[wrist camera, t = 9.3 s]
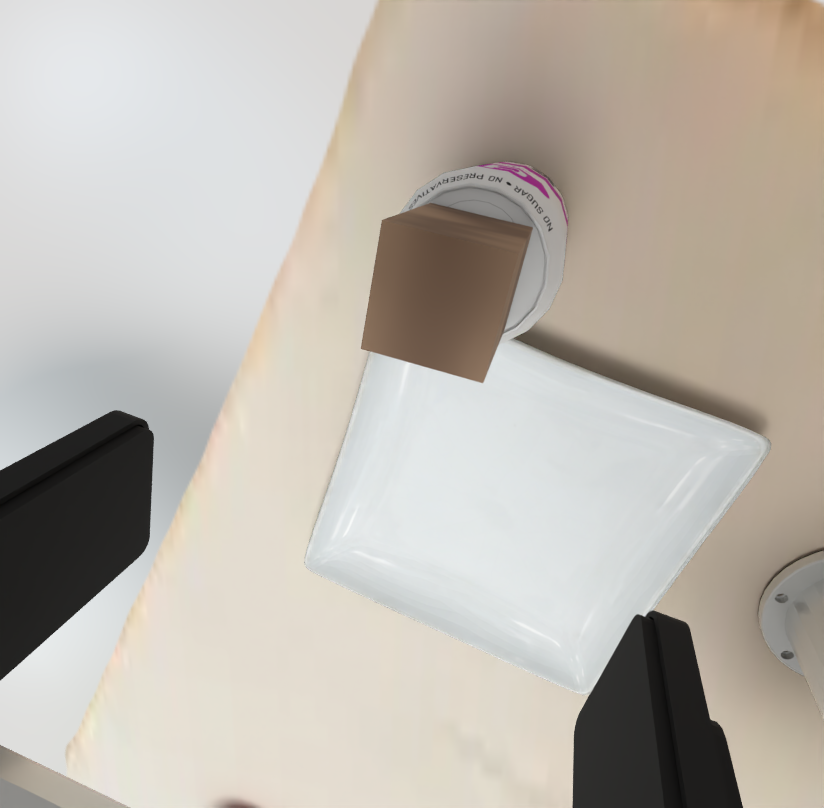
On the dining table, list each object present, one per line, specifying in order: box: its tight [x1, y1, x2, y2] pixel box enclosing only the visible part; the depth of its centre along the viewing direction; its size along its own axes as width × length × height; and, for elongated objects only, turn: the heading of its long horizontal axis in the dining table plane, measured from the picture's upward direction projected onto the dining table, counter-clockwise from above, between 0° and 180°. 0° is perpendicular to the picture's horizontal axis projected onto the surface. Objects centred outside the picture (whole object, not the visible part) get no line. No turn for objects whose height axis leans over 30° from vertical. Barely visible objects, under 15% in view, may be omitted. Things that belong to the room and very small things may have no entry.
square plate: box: [304, 338, 771, 695], centre depth 45 cm, size 27×27×4 cm
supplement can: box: [400, 161, 568, 344], centre depth 32 cm, size 8×8×15 cm
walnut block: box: [361, 203, 533, 383], centre depth 22 cm, size 4×4×7 cm
